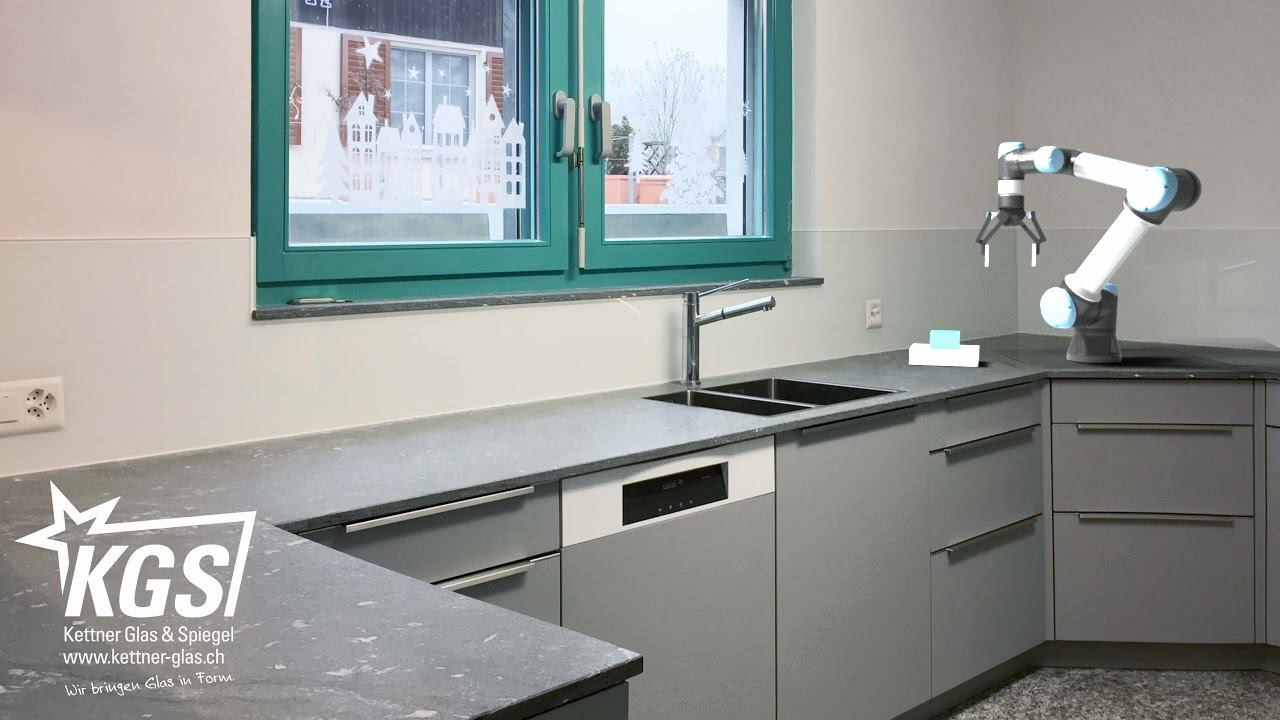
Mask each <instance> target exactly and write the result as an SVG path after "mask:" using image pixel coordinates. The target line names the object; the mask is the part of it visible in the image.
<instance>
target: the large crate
mask: <svg viewBox="0 0 1280 720" xmlns="http://www.w3.org/2000/svg"><path fill="white" fill-rule="evenodd" d="M908 356H909V358H908V360H909V361H908V365H912V366H914V365H915V366H919V365H921V366H948V367H975V368H976V367H977V368H978V366H979V362H980V345H970V344H969V345H967V344H960V350H950V349H930V343H912V345H911V346H910V348H909V353H908Z"/></svg>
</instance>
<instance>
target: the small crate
mask: <svg viewBox="0 0 1280 720" xmlns="http://www.w3.org/2000/svg"><path fill="white" fill-rule="evenodd" d="M929 334H930V335H929V336H930V337H929V344H930V349H950V350H960V345H961V343H960V342H961V331H960V330H938V329H937V330H933V329H931V331H930V332H929Z"/></svg>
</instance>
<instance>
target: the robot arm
mask: <svg viewBox="0 0 1280 720" xmlns="http://www.w3.org/2000/svg"><path fill="white" fill-rule="evenodd" d="M997 157H998V158H997V160H998V161H997V162H998V178H997V179H998V182H997V187H998V189H997V194H999V196H998V197H997V212H992V211H988V212H986V219H985V221H984V223H983V225H982V226H981V229H980V231H979V232H978V234H977V236H976V238H975V239H974V240H975V243H977V244H980V246H981V248H980V249H981V256H984V260H985V261H984V266H985V267H989V244H987V243H988V242H989V241H990V239H992V237H993V236H994V235H995V234H996V232H997V231H999V229H1001V227H1002V226H1003V227H1017V226H1020V227H1021V228H1022V229H1023V230H1024V232H1025V233H1026V234H1027V235H1028V236H1029V238H1030V239H1031V240H1032V241H1033V242H1034V243H1032V244H1031V245H1032V247H1031V248H1032V251H1031V252H1032V253H1031V254H1032V255H1031V259H1032V260H1031V267H1036V261H1037V260H1036V259H1037V257H1036V255H1040V253H1041V252H1040V251H1041V250H1040V249H1041V247H1040V246H1041V244H1042V243H1045V242H1046V241H1047V237H1046V235H1045V234H1044V232H1043V230H1042V228H1041V225H1040V224H1039V222H1038V219H1037V218H1036V212H1035V210H1031V211H1025V196H1024V194H1025V182H1026V181H1025V177H1026V176H1025V175H1030V174H1031V175H1032V174H1049V175H1050V174H1052V175H1053V174H1056V175H1057V174H1058V175H1066V176H1070V177H1075V178H1080V179H1084V180H1088V181H1092V182H1096V183H1100V184H1103V185H1108V186H1111V187H1115V188H1119V189H1122V190H1126V191H1127V193H1126V197H1125V198H1124V200H1123V207H1124V209H1123V210H1122V212H1121V213H1120V214H1119V216H1118V217H1117V218H1116V219H1115V221H1114V222H1113V224H1112V225H1110V227H1109V229H1107V231H1106V232H1105V234H1104V235H1103V236H1102V238H1100V240H1099V241H1098V243H1097V244H1096V245H1095V246H1094V248H1093V249H1092V250H1091V252H1090V253H1089V255H1087V257H1086V258H1085V260H1084V261H1083V262H1082V264H1081V265H1080V266H1079V267H1078V269H1077V270H1076V271H1075V273H1068V274H1067V275H1065V277H1063V279H1062V280H1061V282H1060V283H1059V284H1058V286H1057V287H1052V288H1051V287H1050V288H1049V289H1047V290H1046V291H1045V292H1044V294H1043V295H1042V297H1041V299H1040V302H1039V303H1040V305H1039V307H1040V312H1041V316H1042V317H1043V319H1044V321H1045V322H1046V323H1047V324H1048V325H1049V326H1051V327H1053V328H1056V329H1070V328H1074V329H1073V336H1072V338H1071V341H1070V344H1069V345H1068V348H1067V351H1066V360H1067V361H1071V362H1079V363H1092V364H1093V363H1095V364H1114V362H1115V363H1120V362H1122V352H1121V348H1120V347H1121V346H1120V344H1119V341H1118V337H1117V321H1118V320H1117V318H1118V304H1119V303H1118V302H1119V301H1118V300H1119V294H1118V293H1119V291H1118V286H1117V285H1115V284H1113V283H1109V281H1110V280H1111V278H1112V277H1113V276H1114V275H1115V274H1116V272H1117V271H1118V270H1119V268H1120V267H1121V266H1122V265H1123V264H1124V262H1126V260H1127V259H1128V257H1129V256H1130V255H1131V253H1132V252H1133V251H1134V250H1135V249H1136V247H1137V246H1138V245H1139V243H1140V242H1141V241H1142V240H1143V239H1144V237H1145V236H1146V235H1147V233H1148V232H1149V230H1151V229H1152V228H1153V227H1159V226H1161V225H1162V224H1163V223H1164V221H1166V219H1167V218H1168V216H1169V215H1170V214H1171V213H1172V212H1184V211H1186V210H1188V209H1190V208H1192V207H1193V206H1194V205H1196V204H1197V202H1198V200H1200V197H1201V196H1202V188H1203V187H1202V182H1201V180H1200V178H1199V176H1197V174H1196V173H1195V172H1193V171H1192V170H1189V169H1187V168H1181V167H1179V168H1178V167H1174V168H1173V167H1170V166H1169V167H1168V166H1147V165H1142V164H1138V163H1134V162H1129V161H1124V160H1121V159H1118V158H1117V159H1116V158H1113V157H1107V156H1103V155H1099V154H1094V153H1090V152H1087V151H1086V152H1084V151H1083V150H1082V149H1077V148H1073V147H1072V148H1071V147H1070V148H1064V147H1063V148H1060V147H1058V146H1052V145H1051V146H1047V145H1045V146H1042V147H1041V146H1040V147H1032V148H1031V147H1029V148H1026V144H1025V143H1024V142H1021V141H1019V142H1018V141H1017V142H1016V141H1015V142H1014V141H1013V142H1002V143H1000V145H999V147H998V156H997ZM995 217H996V219H997V220H998V222H997V224H996V225H995V226H994V227H993V228H992V229H991V230H990V231H989V233H988V234H987V235H986V236H985V237H984V238H983V236H984V233H985V232H986V230H987V228H988V226H989V224H990V222H991V220H994V218H995ZM1025 217H1028V219H1030V221H1031V223H1032V224H1033V226H1034V228H1035V230H1036V232H1037V234H1038V236H1039V238H1038V237H1037V236H1036V234H1034V233H1033V231H1032V230H1031V229H1030V228H1029V227H1028V226H1027V224H1026V223H1025V222H1024V218H1025ZM982 238H983V239H982Z"/></svg>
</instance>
